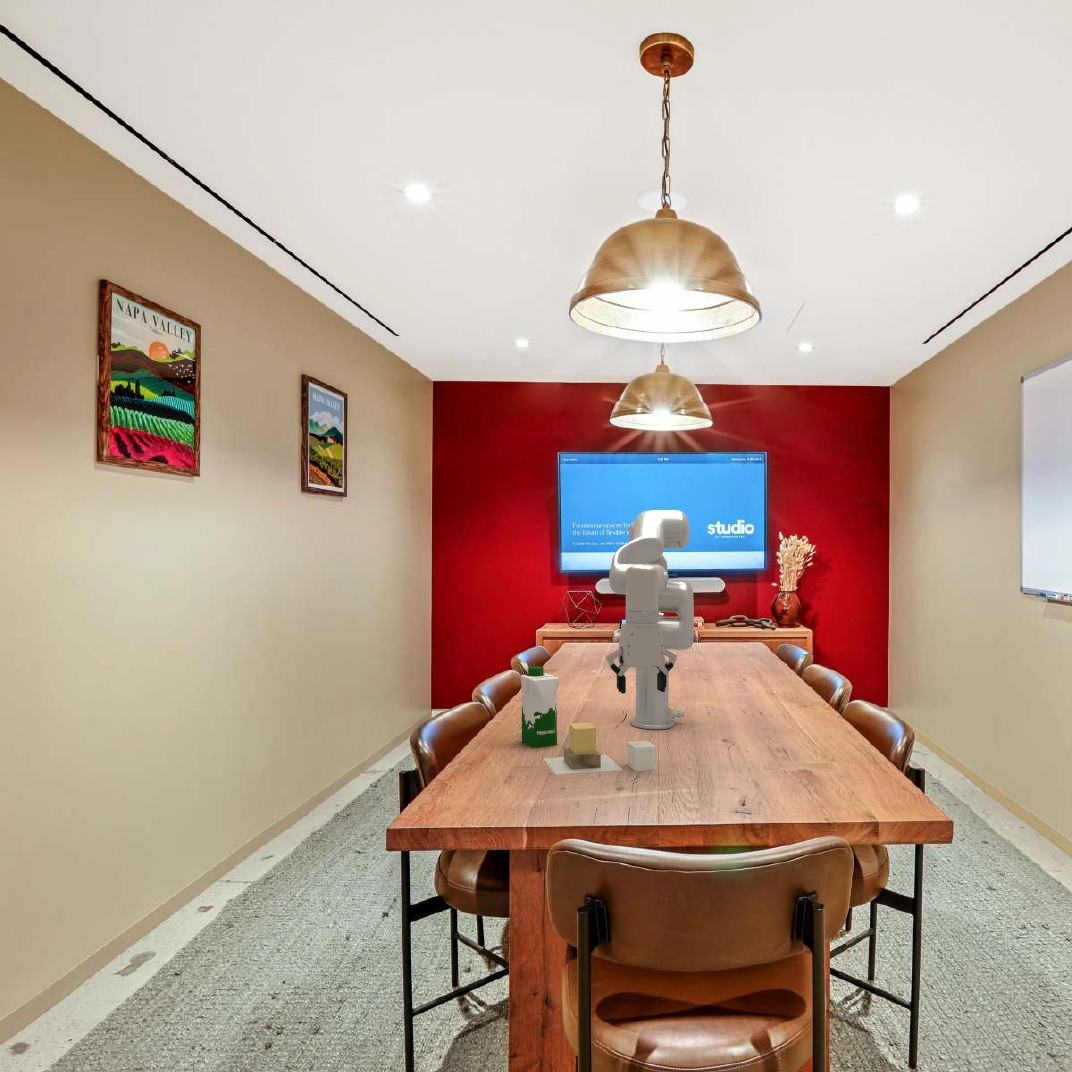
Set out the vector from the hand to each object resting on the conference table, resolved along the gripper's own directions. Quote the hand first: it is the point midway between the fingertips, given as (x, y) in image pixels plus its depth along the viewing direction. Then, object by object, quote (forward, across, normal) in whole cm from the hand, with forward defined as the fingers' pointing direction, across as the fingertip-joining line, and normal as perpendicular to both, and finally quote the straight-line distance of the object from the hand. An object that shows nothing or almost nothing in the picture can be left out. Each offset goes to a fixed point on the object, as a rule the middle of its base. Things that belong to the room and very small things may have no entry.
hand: (641, 691), depth 160 cm
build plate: (+18, +13, -6) cm, 23 cm away
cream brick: (+18, 0, 0) cm, 18 cm away
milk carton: (+18, +19, -24) cm, 36 cm away
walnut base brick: (+18, +13, -6) cm, 22 cm away
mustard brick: (+15, +13, -6) cm, 20 cm away
